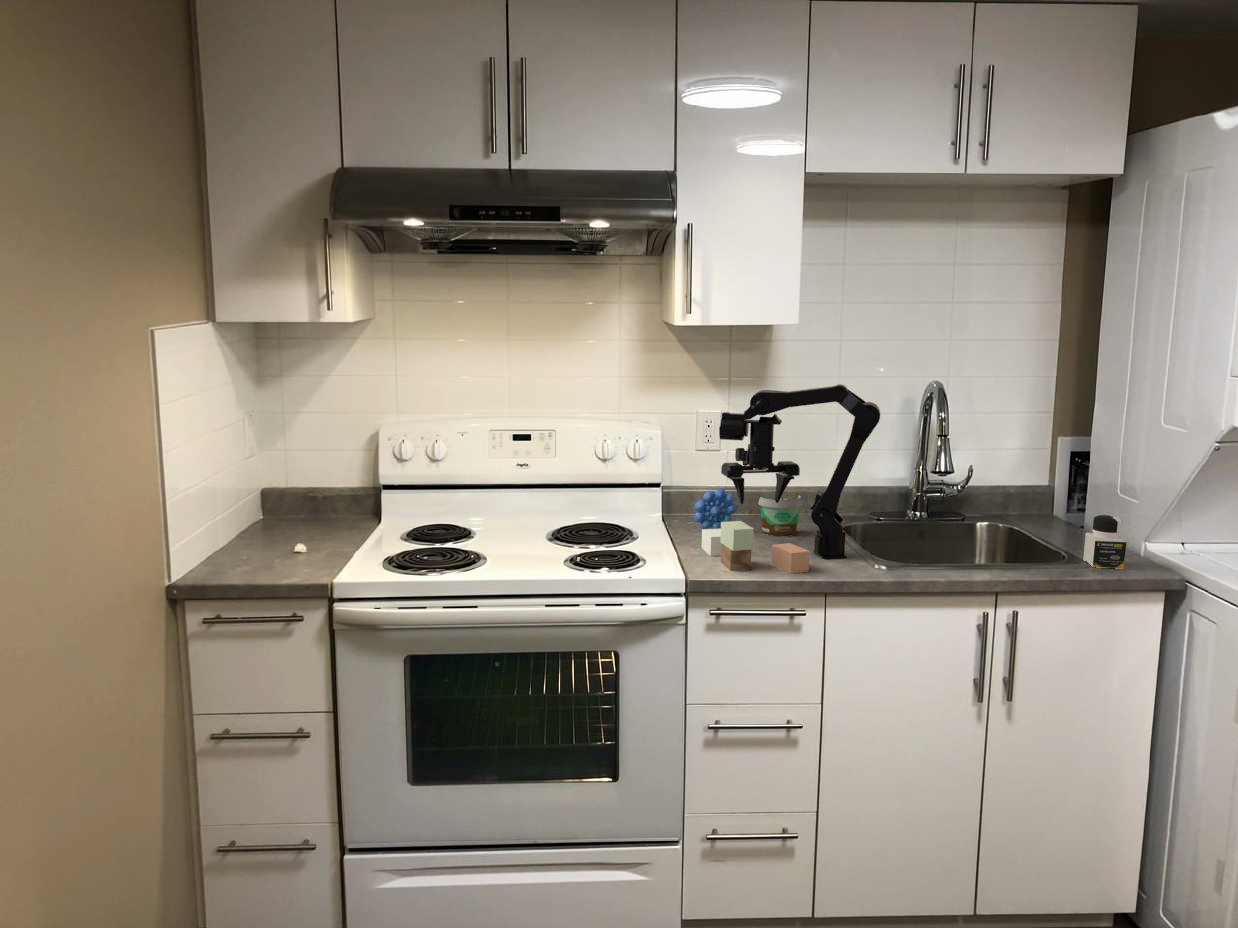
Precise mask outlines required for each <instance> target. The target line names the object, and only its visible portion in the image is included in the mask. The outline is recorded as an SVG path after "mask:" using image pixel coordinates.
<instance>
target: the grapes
mask: <svg viewBox="0 0 1238 928" xmlns="http://www.w3.org/2000/svg"><path fill="white" fill-rule="evenodd" d="M702 499H703V500H702ZM702 499H699V500H698V501H696V503H695V505H694V509H695V510H696V511H697V512H695V514H694V515H693V521H694V522H695V523H700V524H699V528H700V530H701V531H702V529H721V522H730V521H733V517H732V516H733V515H734V514H736V512H737V510H738V506H737V504H736V503H734V501H735V495H734V494H733V493H731V492H726V490H725V489H724V488H721V487H720V488H717V489H715V492H713V491H711V490H708V491H705V493H704V494H703V497H702Z"/></svg>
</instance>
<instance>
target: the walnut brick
mask: <svg viewBox="0 0 1238 928" xmlns="http://www.w3.org/2000/svg"><path fill="white" fill-rule="evenodd" d="M720 562H721V563H722V564H723V565H724V566H725V567H726V568H727V569H728V570H729V571H731V572H732V571H733V572H734V571H735V572H737V571H751V569H752V550H738V551H733V550H731V549H730V548H728V547H727V546H725V545H724V544H722V543H721V556H720Z"/></svg>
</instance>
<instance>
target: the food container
mask: <svg viewBox="0 0 1238 928" xmlns="http://www.w3.org/2000/svg"><path fill="white" fill-rule="evenodd" d="M758 505H759V506H760V517H761V518H760V519H761V531H762V532H761V533H762V534H763V533H764V535H766V534H768V535H767V536H771V535H773V537H782V536H784V537H791V536H790V535H792V536H794V534H795V535H796V534H797V528H798V520H799V514H800V509H801V508H800V507H801V506H802V507H803V500H802V497H801V495H797V497H795V498H786V497H785V498H784V497H781V498H780V500H779V502H778V503H776V502H775V498H773V499H771V498H764V497H761V496H760V497H759V500H758Z"/></svg>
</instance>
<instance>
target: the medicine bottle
mask: <svg viewBox="0 0 1238 928" xmlns="http://www.w3.org/2000/svg"><path fill="white" fill-rule="evenodd" d="M1092 522H1093V523H1092V531H1091V532H1086V533H1085V538H1084V549H1083V561H1084V562H1085V561H1087V562H1088V563H1089V564H1090V565H1091V566H1092V567H1096V568H1095V569H1101V568H1115V569H1114V570H1124V569H1125V561H1126V553H1127V552H1126V551H1127V540H1126V539H1124V538H1123V537H1122V536H1121V534H1122V533H1121V531H1122V530H1121V529H1122V523H1123V522H1122V519H1121V518H1119V517H1117V516H1114V515H1107V514H1100V515H1097V516H1094V517H1093V521H1092ZM1089 564H1088V565H1089ZM1090 565H1089V566H1090ZM1091 566H1090V567H1091ZM1092 567H1091V568H1092Z"/></svg>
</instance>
